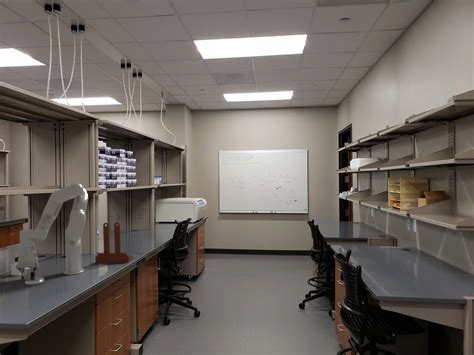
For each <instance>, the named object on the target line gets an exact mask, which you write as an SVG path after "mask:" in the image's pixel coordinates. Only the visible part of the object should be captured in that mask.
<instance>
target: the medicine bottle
mask: <svg viewBox="0 0 474 355" xmlns="http://www.w3.org/2000/svg"><path fill="white" fill-rule="evenodd" d="M18 257H19V255H17V256H15V257H14V258H13V260H14V263H11V264H10V270H11V271H10V272H11V276H21V272H20V271H19V270H18V269H17V268H15V267H16V265H17V264H18ZM25 269H30V268H25Z"/></svg>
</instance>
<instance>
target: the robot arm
mask: <svg viewBox="0 0 474 355" xmlns="http://www.w3.org/2000/svg"><path fill="white" fill-rule="evenodd" d="M72 199H74V201H73V204H72V208H71V212H70V214H69V221H68V225H67V228H66V229H65V233H64V236H65V261H66V262H65V264H66V265H65V266H66V267H65V268H66V270H64V271H63V274H64V275H67V276H68V275H69V276H70V275H71V276H72V275H77V274H82V273H84V272H85V270H86V269H85V268H84V267H83V266H84V263H83V253H82V252H83V251H82V250H83V249H82V246H83V245H82V237H83V232H84V229H85V225H86V222H87V221H86V220H87V215H86V213H87V212H86V211H87V208H88V207H87V206H88V202H89V194H88V192H87V190H86V189H85V187H84V186H83V185H82V184H81V183H78V182H73V183H71V184H69V185H67V186H65V187H62V188H59V189H58V190H53V191H52V192H51V194H50V196H49V199H48V201H47V203H46V205H45V207H44V209H43V212H42V215H41V217H40V220H39V222H38V224H37V226H36V227H35V229H34V230H33V229H22V230H20V231H19V253H18V256H19V257H18V264H17V265H16V267H15V268H17V269H18V270H19V271H20V272H21V280H24V277H23V276H22V273H23V272H24V271H23V270H25V268H29V269H31V278H36V277H35V276H36V271H37V270H38V268H40V267H41V265H40V263H39V262H38V260H39V259H38V254H37V251H36V250H37V247H36V246H35V241H36V242H39V241H40V242H42V241H44V240H46V239H47V237H48V233H49V231H50V229H51V227H52V224H53V223H54V221H55V220H56V218H57V217H58V215H59V213H60V210H61V208H62V206H63V204H64V203H65V202H67V201H70V200H72Z"/></svg>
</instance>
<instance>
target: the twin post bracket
mask: <svg viewBox="0 0 474 355" xmlns="http://www.w3.org/2000/svg"><path fill="white" fill-rule="evenodd" d="M113 229H114V230H113V232H114V233H113V234H114V235H113V237H114V252H110V251H111V250H110V224H109V223H108V222H104V223H103V225H102V234H103V236H102V237H103V239H102V240H103V253H102V252H101V253H97V254H96V255H95V256H94V258H95V259H94V261H95V264H96V265H97V264H98V265H99V264H104V265H105V264H124V263H126V264H128V263H130V262H131V261H132V260H134V259H135V258H134V257H135V256H134V255H132V256H131V255H130V254H128V253H127V252H122V250H121V247H122V246H121V224H120V223H119V222H118V221H117V222H115V223H114V224H113Z"/></svg>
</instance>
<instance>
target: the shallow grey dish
mask: <svg viewBox="0 0 474 355" xmlns="http://www.w3.org/2000/svg"><path fill="white" fill-rule="evenodd" d="M44 282H45V278H44V277H40V276H39V277H34V278H32V279H28V280H24V285H25V286H33V285H39V284H41V283H44Z"/></svg>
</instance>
